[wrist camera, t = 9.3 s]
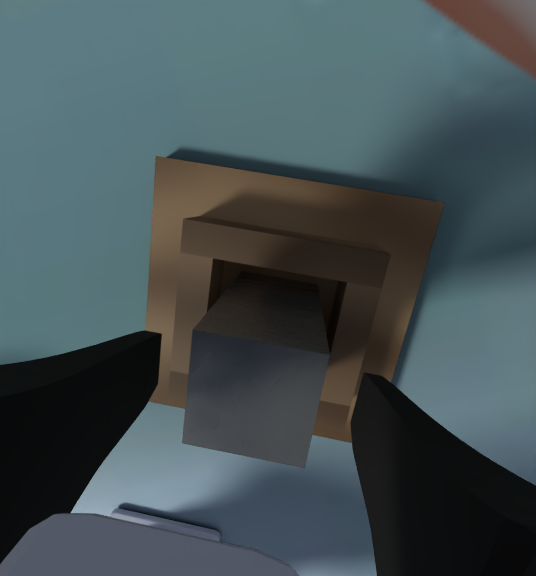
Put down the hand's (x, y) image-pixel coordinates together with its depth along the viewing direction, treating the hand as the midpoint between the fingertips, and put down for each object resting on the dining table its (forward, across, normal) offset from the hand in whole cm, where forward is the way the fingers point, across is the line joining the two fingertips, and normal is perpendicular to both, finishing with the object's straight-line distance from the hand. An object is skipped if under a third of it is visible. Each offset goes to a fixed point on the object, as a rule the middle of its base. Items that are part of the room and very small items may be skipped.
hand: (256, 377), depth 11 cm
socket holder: (+7, 0, 0) cm, 7 cm away
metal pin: (+6, 0, 0) cm, 6 cm away
